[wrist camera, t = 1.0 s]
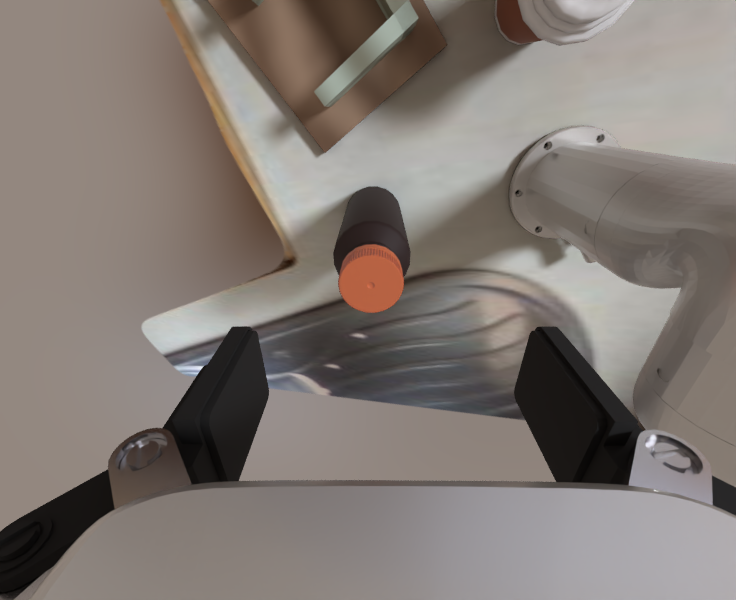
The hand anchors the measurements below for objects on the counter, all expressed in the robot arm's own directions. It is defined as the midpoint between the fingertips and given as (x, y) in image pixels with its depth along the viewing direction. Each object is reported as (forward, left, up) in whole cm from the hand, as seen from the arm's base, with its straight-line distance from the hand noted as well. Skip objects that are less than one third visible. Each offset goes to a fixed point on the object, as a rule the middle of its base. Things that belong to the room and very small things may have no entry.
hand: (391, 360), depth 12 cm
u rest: (+16, -5, -33) cm, 37 cm away
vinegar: (-2, +3, -33) cm, 34 cm away
